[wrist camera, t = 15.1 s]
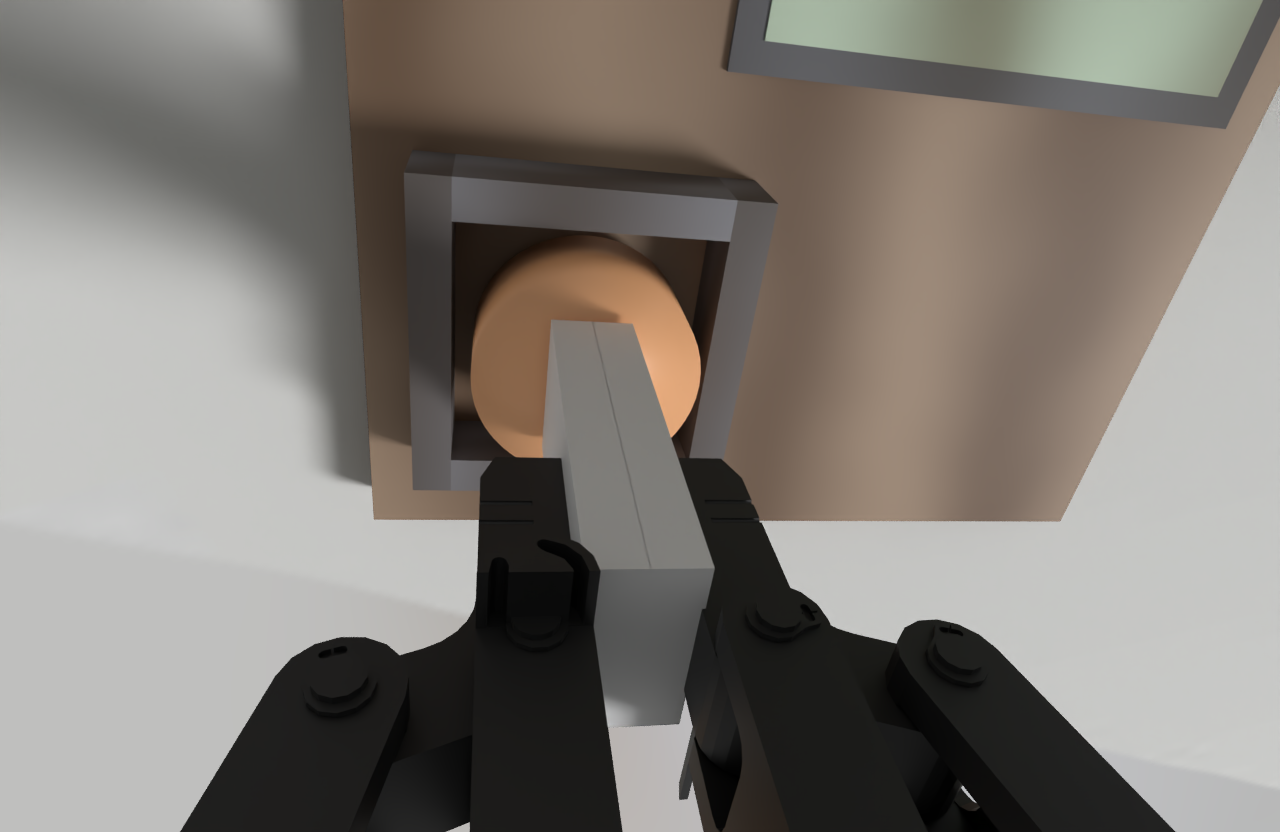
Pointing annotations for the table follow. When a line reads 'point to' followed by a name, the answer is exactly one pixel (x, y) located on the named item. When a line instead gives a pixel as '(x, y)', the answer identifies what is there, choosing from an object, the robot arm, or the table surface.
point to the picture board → (805, 222)
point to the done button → (577, 291)
